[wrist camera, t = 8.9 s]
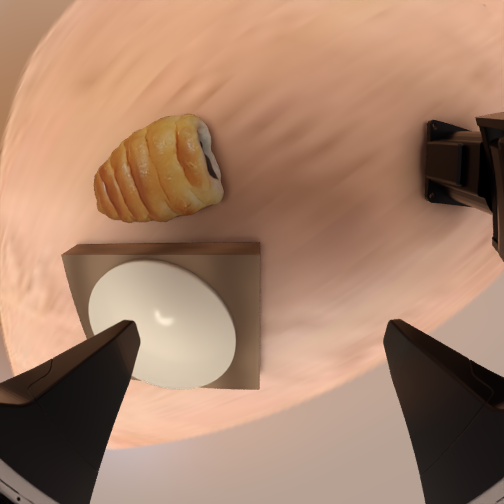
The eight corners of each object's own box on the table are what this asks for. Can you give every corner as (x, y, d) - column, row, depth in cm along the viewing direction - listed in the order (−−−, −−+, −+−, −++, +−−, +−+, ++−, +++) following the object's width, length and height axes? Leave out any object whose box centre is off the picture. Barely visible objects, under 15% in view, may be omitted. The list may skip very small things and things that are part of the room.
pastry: (121, 234, 20) (98, 253, 17) (92, 156, 18) (64, 161, 14) (232, 196, 19) (226, 208, 15) (202, 106, 17) (189, 97, 13)
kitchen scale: (259, 242, 20) (260, 259, 17) (259, 370, 25) (259, 395, 22) (77, 244, 21) (55, 258, 18) (110, 358, 25) (98, 378, 22)
